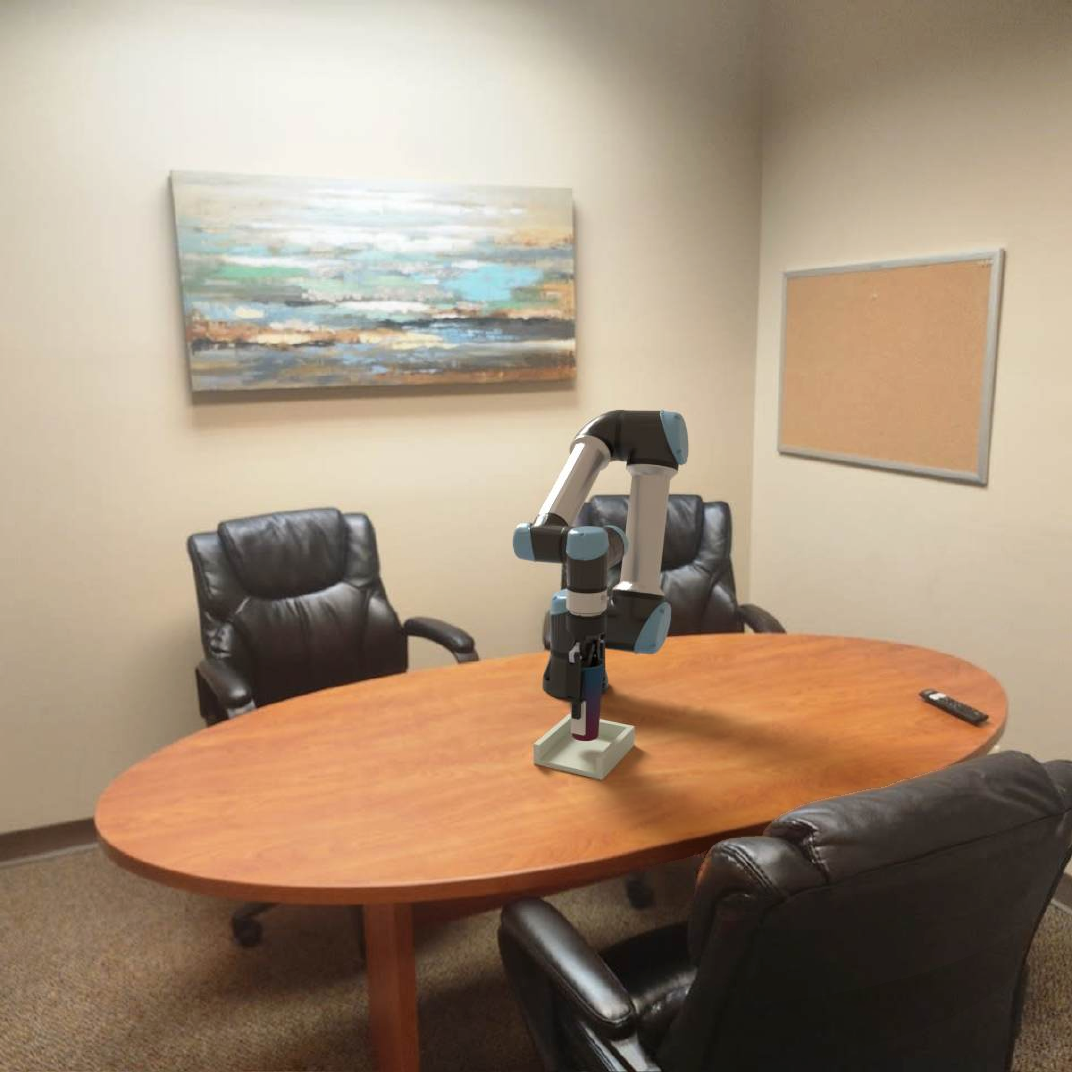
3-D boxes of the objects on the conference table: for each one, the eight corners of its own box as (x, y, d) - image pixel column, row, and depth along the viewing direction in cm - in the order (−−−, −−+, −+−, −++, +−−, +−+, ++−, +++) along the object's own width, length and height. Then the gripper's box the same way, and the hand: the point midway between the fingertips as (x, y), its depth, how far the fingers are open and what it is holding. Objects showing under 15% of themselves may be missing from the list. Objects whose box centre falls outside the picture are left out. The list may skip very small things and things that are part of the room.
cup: (561, 738, 168) (561, 664, 165) (576, 725, 174) (577, 653, 171) (594, 746, 165) (595, 670, 162) (608, 732, 171) (609, 658, 167)
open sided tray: (533, 763, 166) (533, 743, 165) (570, 731, 180) (570, 712, 179) (602, 780, 160) (602, 759, 159) (634, 745, 174) (634, 726, 173)
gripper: (584, 627, 154) (582, 750, 159) (624, 600, 170) (622, 712, 175) (545, 621, 157) (545, 742, 162) (589, 595, 174) (587, 705, 179)
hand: (585, 726), depth 169 cm, fingers closed on cup, 6 cm apart
